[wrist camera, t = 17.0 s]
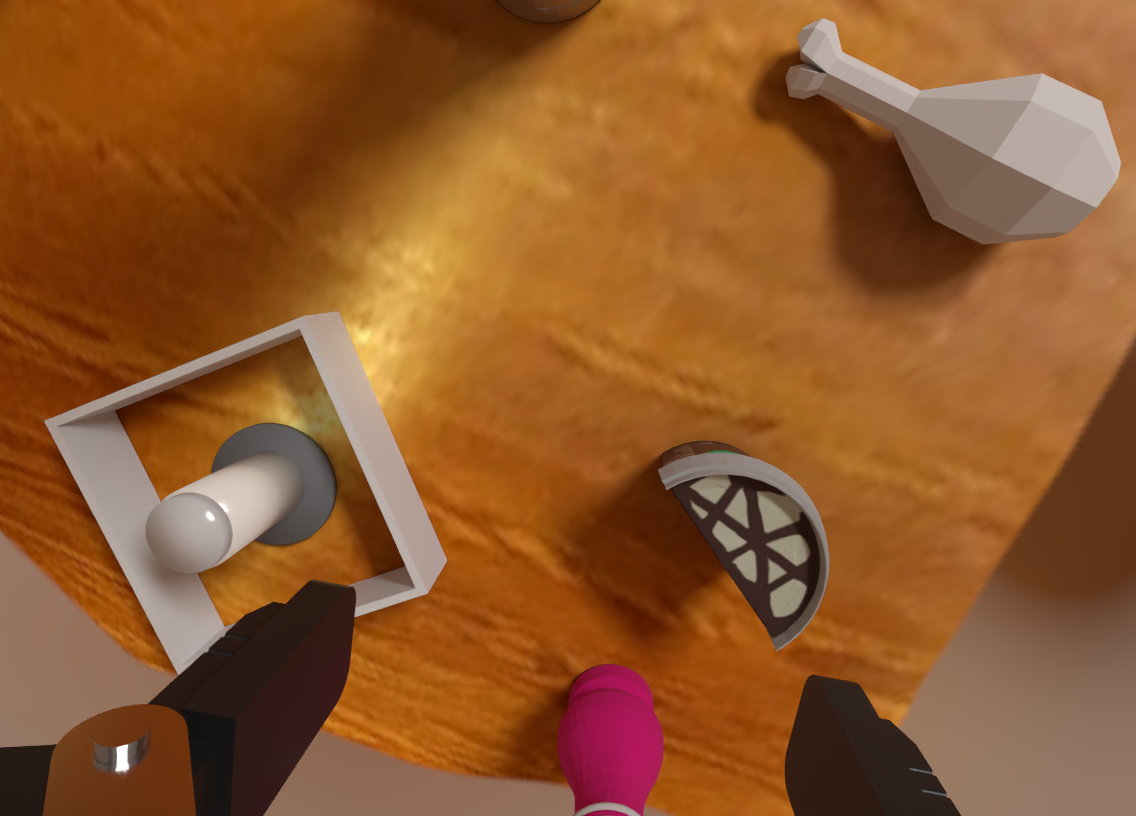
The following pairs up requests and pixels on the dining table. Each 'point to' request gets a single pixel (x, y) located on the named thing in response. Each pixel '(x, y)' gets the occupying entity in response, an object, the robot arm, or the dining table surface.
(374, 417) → the grey square frame
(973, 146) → the chicken leg
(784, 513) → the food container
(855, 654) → the dining table surface
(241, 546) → the sugar shaker
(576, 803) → the pepper mill
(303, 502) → the coaster
